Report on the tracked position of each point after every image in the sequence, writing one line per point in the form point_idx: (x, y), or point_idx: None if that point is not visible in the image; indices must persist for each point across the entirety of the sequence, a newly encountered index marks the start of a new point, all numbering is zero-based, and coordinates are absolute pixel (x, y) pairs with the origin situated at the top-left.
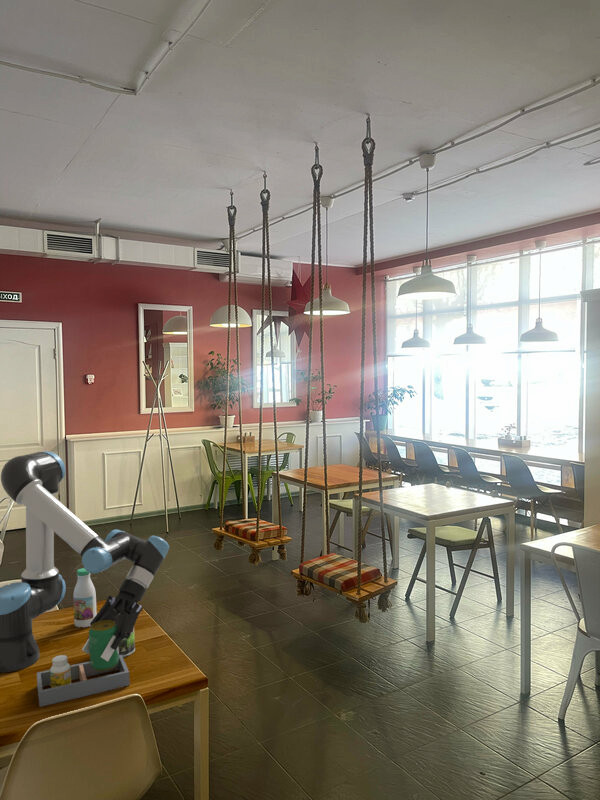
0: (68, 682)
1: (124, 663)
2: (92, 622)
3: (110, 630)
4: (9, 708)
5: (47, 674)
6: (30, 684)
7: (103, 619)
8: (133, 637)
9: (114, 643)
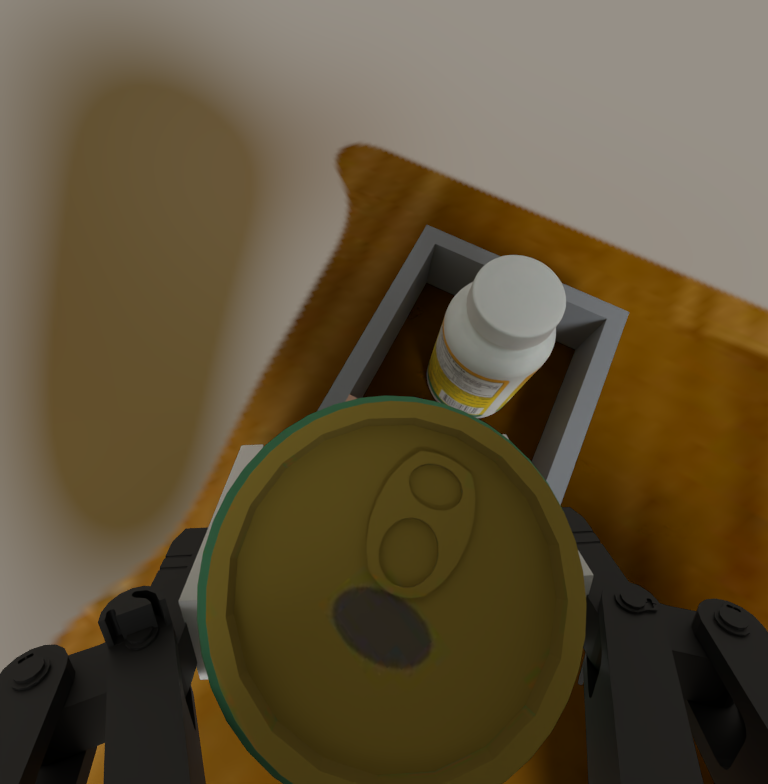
0: (435, 372)
1: None
2: (735, 633)
3: (208, 572)
4: (502, 207)
5: (590, 350)
6: (634, 336)
7: (615, 749)
8: None
9: (177, 563)
